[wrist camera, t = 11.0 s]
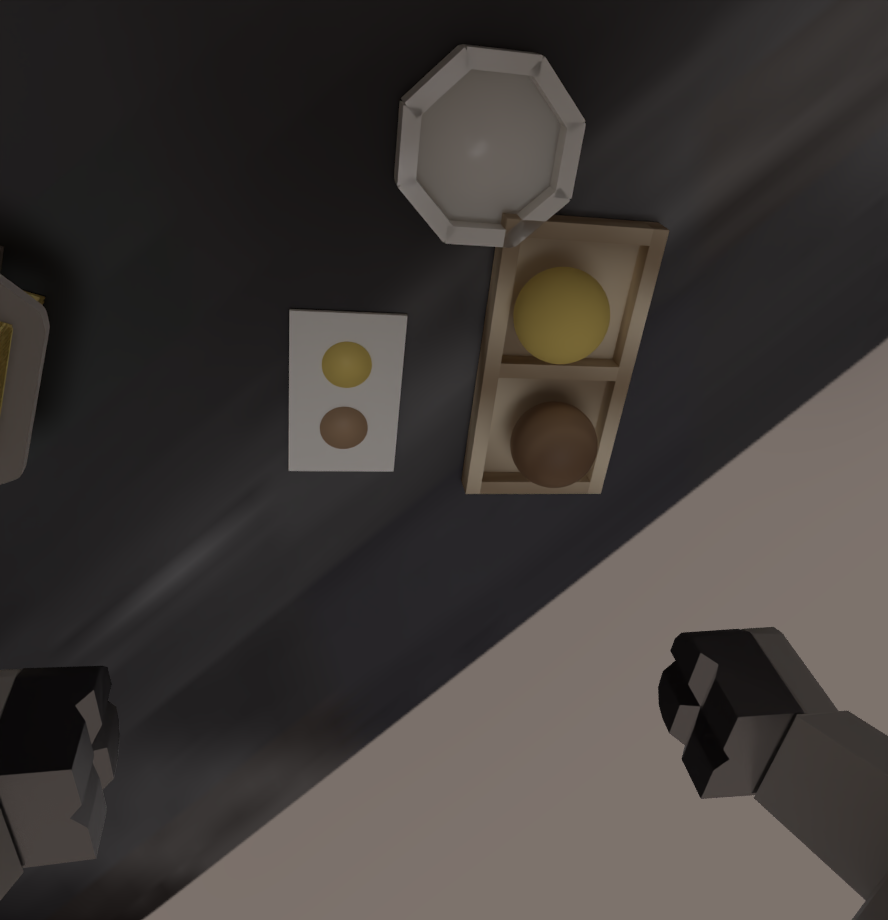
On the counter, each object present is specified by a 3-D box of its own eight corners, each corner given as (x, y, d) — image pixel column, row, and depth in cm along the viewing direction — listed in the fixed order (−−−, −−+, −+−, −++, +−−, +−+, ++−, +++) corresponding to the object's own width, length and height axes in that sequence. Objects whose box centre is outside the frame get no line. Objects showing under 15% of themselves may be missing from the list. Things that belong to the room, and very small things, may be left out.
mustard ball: (530, 248, 33) (513, 273, 30) (623, 265, 32) (616, 293, 29) (516, 334, 35) (497, 367, 32) (603, 352, 34) (593, 388, 31)
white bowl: (404, 37, 28) (408, 39, 27) (587, 58, 29) (597, 61, 28) (390, 231, 31) (393, 240, 30) (553, 242, 33) (561, 251, 32)
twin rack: (500, 210, 32) (507, 218, 31) (657, 222, 33) (669, 230, 32) (461, 480, 38) (465, 493, 37) (592, 480, 40) (600, 493, 39)
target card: (289, 308, 32) (289, 311, 32) (406, 313, 33) (407, 316, 33) (288, 468, 36) (288, 472, 36) (393, 469, 37) (393, 472, 37)
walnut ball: (508, 385, 36) (530, 427, 32) (589, 387, 36) (619, 429, 33) (495, 458, 38) (515, 505, 34) (572, 458, 39) (599, 505, 35)
